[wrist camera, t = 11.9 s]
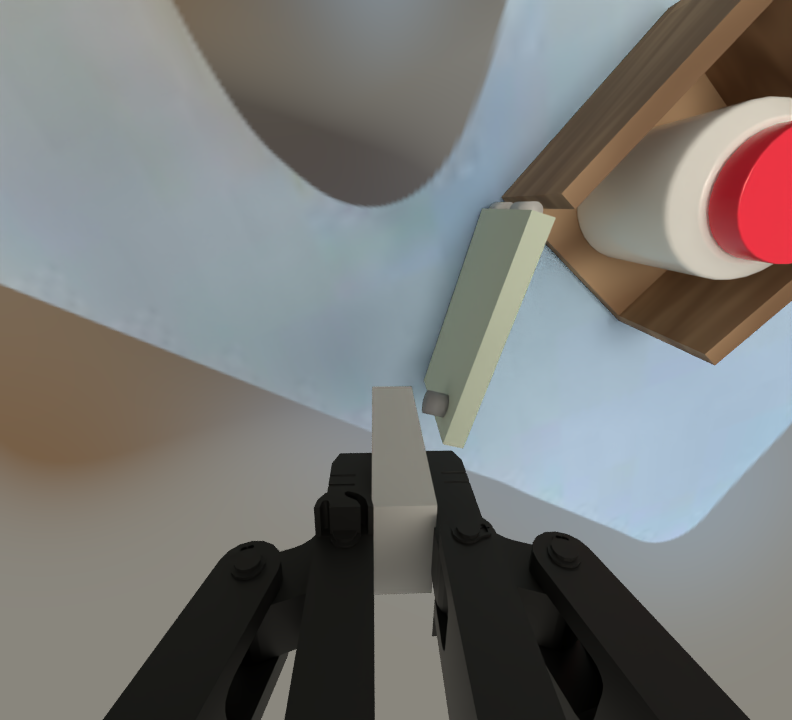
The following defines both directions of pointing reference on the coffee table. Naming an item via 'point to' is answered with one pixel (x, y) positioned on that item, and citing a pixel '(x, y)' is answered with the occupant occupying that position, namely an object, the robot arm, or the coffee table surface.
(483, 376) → the door
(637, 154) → the pill bottle
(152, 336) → the coffee table surface
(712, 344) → the box
